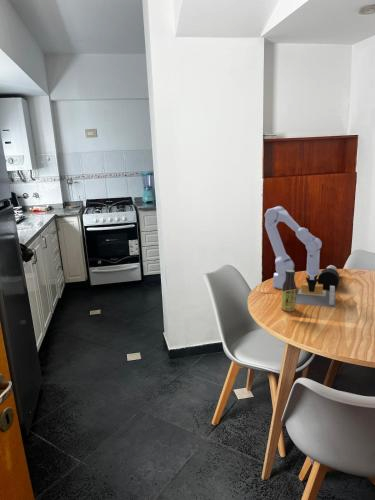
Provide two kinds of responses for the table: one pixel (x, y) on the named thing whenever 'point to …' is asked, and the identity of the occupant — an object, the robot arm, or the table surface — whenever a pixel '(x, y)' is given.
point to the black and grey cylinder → (329, 277)
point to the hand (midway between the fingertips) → (311, 288)
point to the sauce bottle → (289, 292)
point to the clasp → (331, 295)
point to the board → (314, 299)
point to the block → (317, 289)
